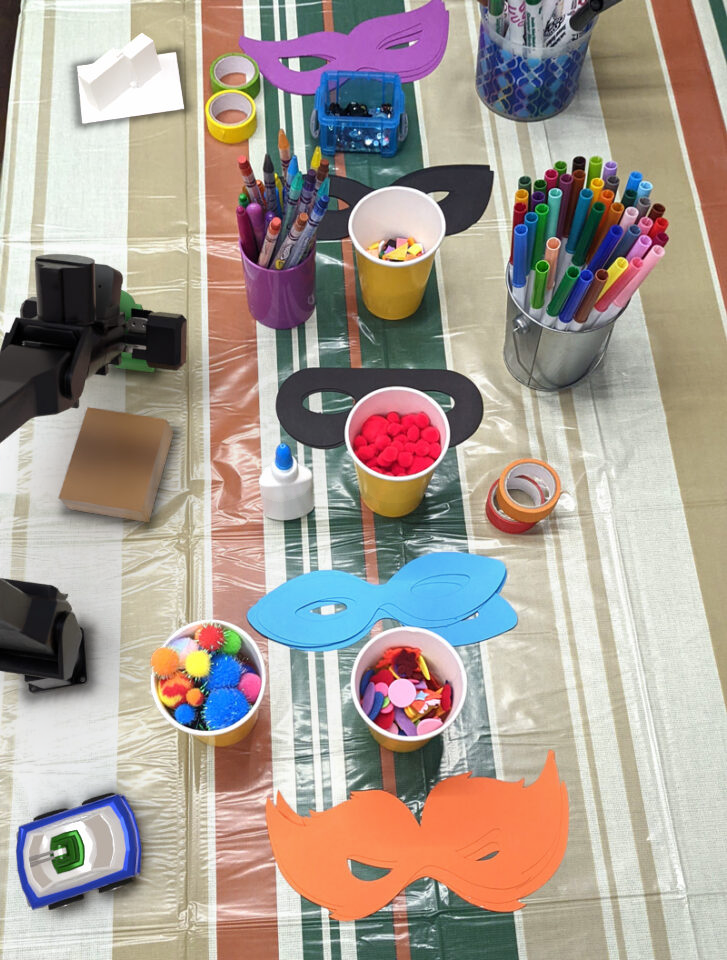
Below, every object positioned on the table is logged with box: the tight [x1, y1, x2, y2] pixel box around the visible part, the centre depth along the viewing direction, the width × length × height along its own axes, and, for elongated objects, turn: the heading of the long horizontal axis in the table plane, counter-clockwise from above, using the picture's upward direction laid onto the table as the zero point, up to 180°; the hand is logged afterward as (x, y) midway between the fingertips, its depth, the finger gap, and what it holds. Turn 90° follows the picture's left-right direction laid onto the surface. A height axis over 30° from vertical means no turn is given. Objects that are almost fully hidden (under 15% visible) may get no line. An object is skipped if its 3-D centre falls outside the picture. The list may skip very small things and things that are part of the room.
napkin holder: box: [76, 32, 185, 125], centre depth 128 cm, size 15×11×6 cm
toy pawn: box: [114, 289, 156, 373], centre depth 109 cm, size 5×5×13 cm
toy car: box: [15, 792, 143, 911], centre depth 89 cm, size 9×12×10 cm
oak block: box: [58, 406, 174, 523], centre depth 107 cm, size 12×10×4 cm
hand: (129, 317), depth 109 cm, fingers closed on toy pawn, 4 cm apart
